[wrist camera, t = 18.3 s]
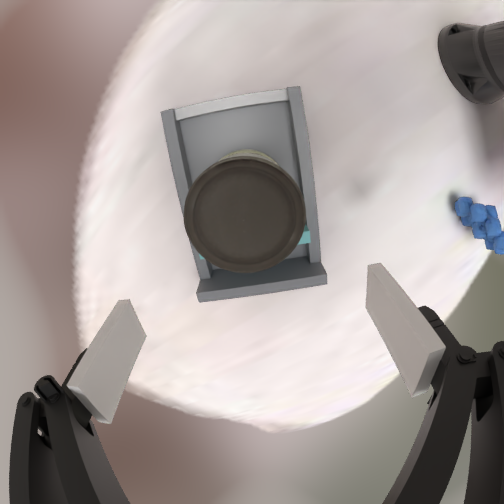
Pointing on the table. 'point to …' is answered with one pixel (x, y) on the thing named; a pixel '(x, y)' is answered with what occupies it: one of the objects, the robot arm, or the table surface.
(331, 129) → the table surface
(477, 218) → the grapes
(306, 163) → the lane
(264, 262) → the coffee can
